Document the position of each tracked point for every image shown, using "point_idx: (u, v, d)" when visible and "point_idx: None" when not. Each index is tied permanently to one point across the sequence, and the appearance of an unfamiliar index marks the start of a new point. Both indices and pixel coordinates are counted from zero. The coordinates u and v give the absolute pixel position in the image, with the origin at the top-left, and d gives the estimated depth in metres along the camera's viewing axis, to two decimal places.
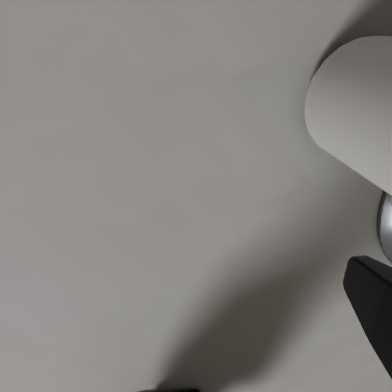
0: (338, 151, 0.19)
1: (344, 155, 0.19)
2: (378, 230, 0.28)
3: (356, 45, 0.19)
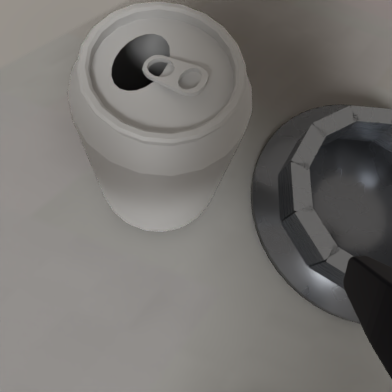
0: (122, 205, 0.18)
1: (121, 201, 0.18)
2: (294, 288, 0.22)
3: None
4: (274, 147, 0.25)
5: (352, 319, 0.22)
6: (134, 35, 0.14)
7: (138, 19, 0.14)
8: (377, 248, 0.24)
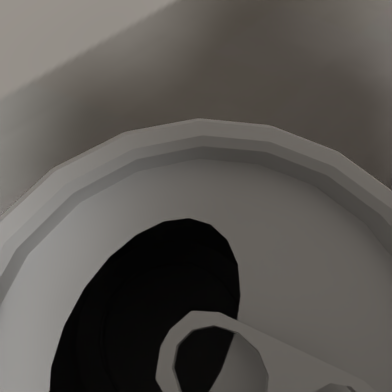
0: None
1: None
2: None
3: (92, 277, 0.13)
4: None
5: None
6: (129, 230, 0.04)
7: (141, 170, 0.05)
8: None
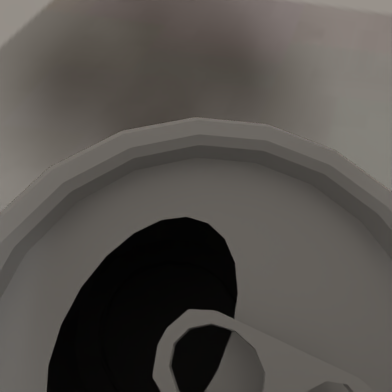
0: None
1: None
2: None
3: (91, 276, 0.13)
4: None
5: None
6: (126, 228, 0.04)
7: (139, 169, 0.05)
8: None
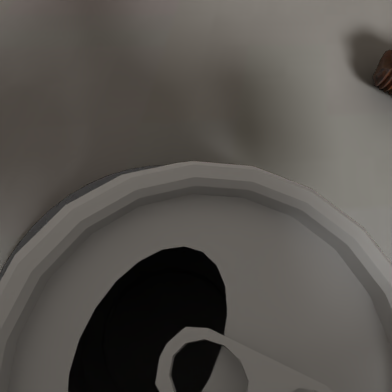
0: None
1: None
2: None
3: None
4: None
5: None
6: (133, 257, 0.05)
7: (143, 205, 0.05)
8: None
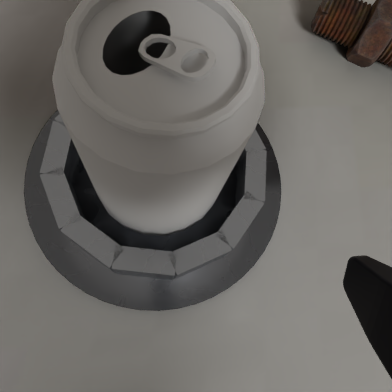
0: (118, 207, 0.17)
1: (116, 203, 0.16)
2: None
3: None
4: (39, 158, 0.22)
5: (180, 306, 0.20)
6: (129, 12, 0.12)
7: None
8: None
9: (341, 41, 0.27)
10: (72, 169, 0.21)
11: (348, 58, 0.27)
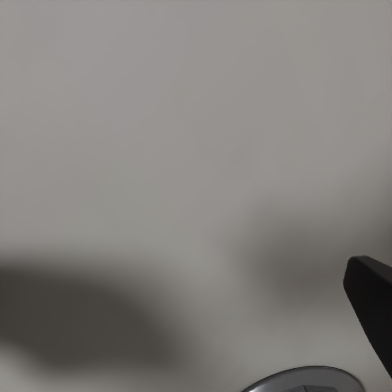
0: None
1: None
2: (256, 385, 0.30)
3: None
4: (353, 387, 0.32)
5: None
6: None
7: None
8: None
9: None
10: None
11: None
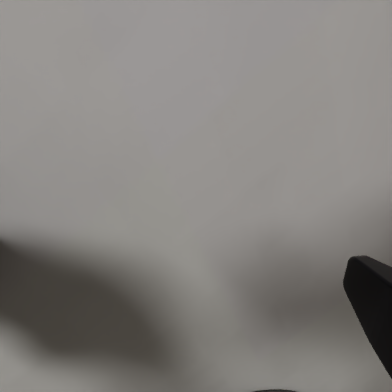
0: None
1: None
2: None
3: None
4: None
5: None
6: None
7: None
8: None
9: None
10: None
11: None
